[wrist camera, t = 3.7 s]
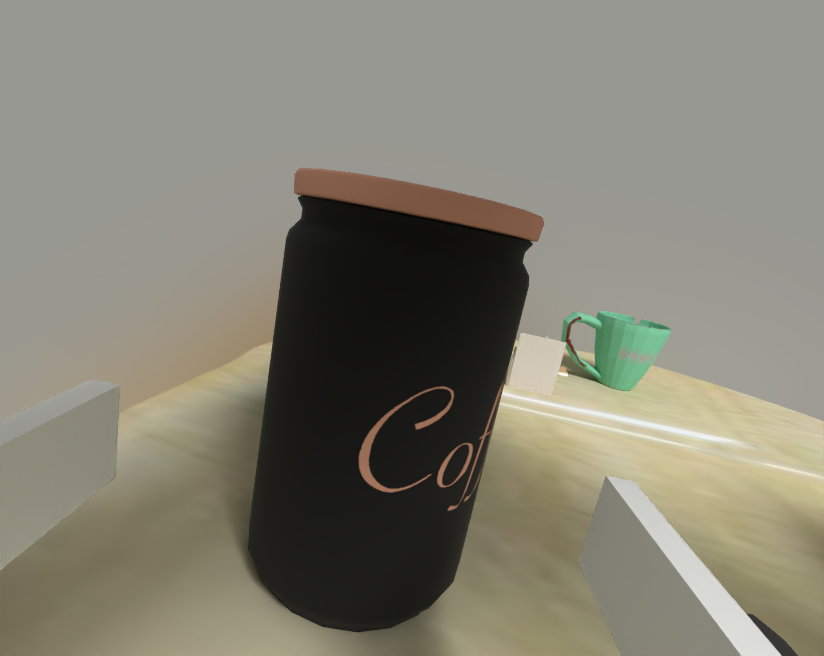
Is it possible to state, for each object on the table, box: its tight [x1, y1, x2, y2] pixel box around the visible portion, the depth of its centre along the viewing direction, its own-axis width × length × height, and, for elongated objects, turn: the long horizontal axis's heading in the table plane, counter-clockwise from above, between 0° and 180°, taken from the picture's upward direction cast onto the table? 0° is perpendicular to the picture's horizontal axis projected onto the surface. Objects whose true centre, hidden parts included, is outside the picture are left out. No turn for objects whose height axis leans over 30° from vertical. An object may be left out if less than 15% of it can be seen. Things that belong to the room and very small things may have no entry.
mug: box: [561, 311, 671, 391], centre depth 65 cm, size 15×10×10 cm
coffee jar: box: [248, 168, 544, 632], centre depth 21 cm, size 11×11×18 cm
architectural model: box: [505, 333, 568, 397], centre depth 56 cm, size 3×7×7 cm, turn 80°
